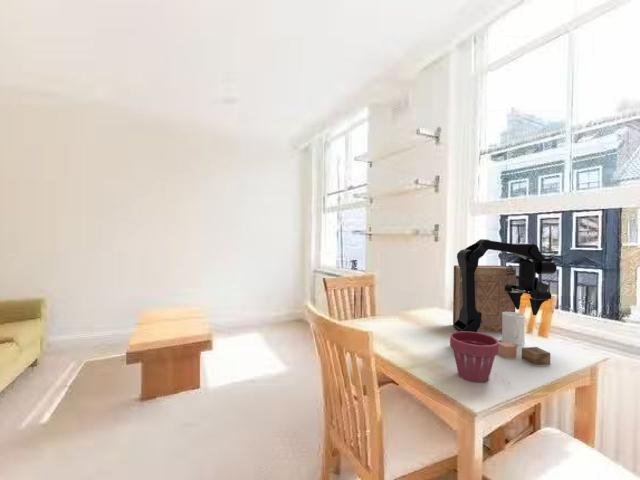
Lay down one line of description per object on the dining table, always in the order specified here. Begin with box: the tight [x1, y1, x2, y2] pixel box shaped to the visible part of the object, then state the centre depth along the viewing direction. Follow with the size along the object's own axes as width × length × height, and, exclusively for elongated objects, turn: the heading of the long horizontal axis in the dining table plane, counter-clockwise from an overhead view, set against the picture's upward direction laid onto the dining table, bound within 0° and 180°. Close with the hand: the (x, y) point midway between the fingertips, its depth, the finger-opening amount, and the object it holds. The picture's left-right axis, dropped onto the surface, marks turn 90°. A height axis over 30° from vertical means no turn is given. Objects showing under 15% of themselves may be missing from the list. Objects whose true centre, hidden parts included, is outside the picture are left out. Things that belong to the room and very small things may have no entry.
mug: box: [500, 311, 526, 346], centre depth 134 cm, size 12×8×12 cm
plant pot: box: [449, 331, 500, 383], centre depth 104 cm, size 14×14×13 cm
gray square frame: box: [520, 357, 552, 367], centre depth 115 cm, size 8×8×1 cm
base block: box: [521, 346, 551, 366], centre depth 115 cm, size 6×6×4 cm
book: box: [452, 264, 517, 332], centre depth 154 cm, size 25×9×30 cm, turn 84°
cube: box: [497, 341, 518, 358], centre depth 121 cm, size 4×4×4 cm
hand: (525, 312), depth 131 cm, fingers open, 9 cm apart
